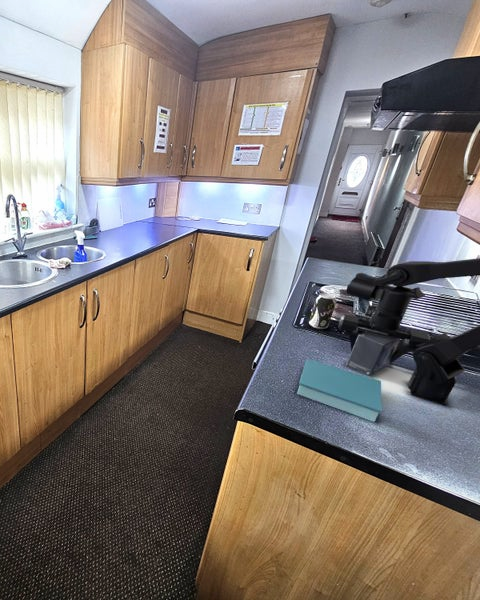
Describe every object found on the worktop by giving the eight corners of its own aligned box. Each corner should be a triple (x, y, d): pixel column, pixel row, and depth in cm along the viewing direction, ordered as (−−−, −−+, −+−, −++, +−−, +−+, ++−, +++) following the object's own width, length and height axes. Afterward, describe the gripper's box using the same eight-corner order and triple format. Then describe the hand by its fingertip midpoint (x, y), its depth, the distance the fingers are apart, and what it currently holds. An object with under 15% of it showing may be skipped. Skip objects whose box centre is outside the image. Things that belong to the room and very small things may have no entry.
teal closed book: (375, 392, 84) (381, 380, 83) (376, 423, 75) (382, 411, 73) (303, 368, 94) (307, 358, 92) (295, 394, 84) (299, 382, 82)
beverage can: (313, 329, 115) (323, 298, 110) (305, 322, 120) (314, 292, 115) (330, 330, 114) (341, 299, 109) (321, 323, 119) (331, 292, 114)
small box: (371, 377, 90) (385, 345, 86) (344, 365, 95) (356, 334, 91) (389, 366, 94) (403, 335, 90) (362, 355, 100) (375, 325, 95)
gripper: (436, 307, 87) (413, 356, 94) (349, 290, 98) (333, 335, 105) (442, 322, 80) (416, 374, 86) (347, 302, 91) (330, 350, 97)
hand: (370, 356), depth 94 cm, fingers closed on small box, 8 cm apart
